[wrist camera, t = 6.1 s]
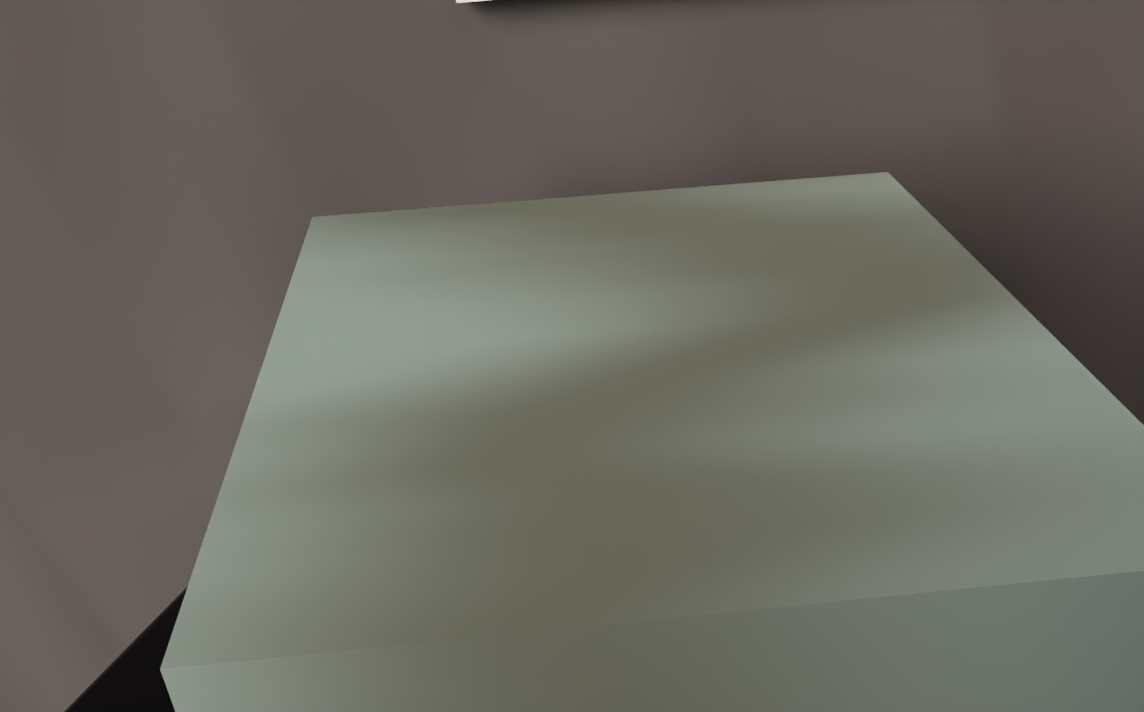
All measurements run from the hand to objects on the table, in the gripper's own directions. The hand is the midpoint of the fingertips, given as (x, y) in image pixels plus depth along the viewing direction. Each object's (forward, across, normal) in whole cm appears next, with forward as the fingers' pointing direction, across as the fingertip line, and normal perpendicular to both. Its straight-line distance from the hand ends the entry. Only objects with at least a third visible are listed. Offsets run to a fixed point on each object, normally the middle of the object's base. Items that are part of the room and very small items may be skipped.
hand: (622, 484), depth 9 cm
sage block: (+1, 0, 0) cm, 1 cm away
